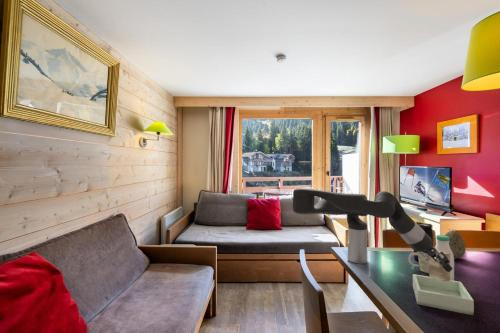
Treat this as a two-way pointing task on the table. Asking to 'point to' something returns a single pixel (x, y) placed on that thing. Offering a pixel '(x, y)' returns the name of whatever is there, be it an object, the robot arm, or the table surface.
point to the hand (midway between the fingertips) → (444, 267)
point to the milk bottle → (446, 250)
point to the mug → (420, 262)
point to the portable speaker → (428, 230)
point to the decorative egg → (456, 244)
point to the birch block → (439, 269)
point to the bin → (442, 294)
